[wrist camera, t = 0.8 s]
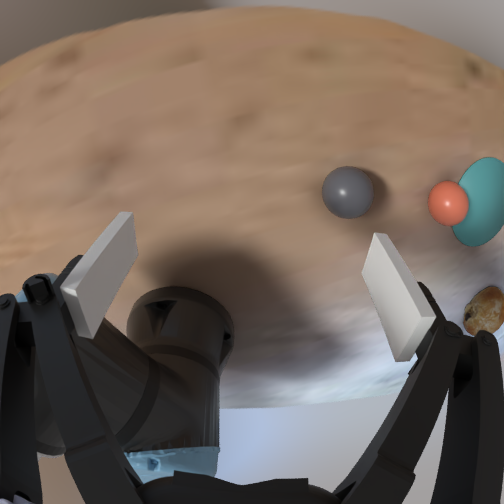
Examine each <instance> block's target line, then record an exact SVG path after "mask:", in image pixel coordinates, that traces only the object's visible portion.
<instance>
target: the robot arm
mask: <svg viewBox="0 0 504 504" xmlns="http://www.w3.org/2000/svg"><path fill="white" fill-rule="evenodd" d="M137 256H138V250H137V243H136V235H135V226H134V217H133V212H120V213H119V214H118V215H117V216H116V217H115V218H114V220H113V221H112V222H111V223H110V224H109V225H108V227H107V228H106V229H105V230H104V231H103V233H102V234H101V235H100V236H99V237H98V239H97V240H96V241H95V242H94V243H93V245H92V246H91V247H90V248H89V250H88V251H87V252H86V253H85V255H78V256H77V257H75V258H74V259H72V260H71V261H70V262H69V263H68V265H67V266H66V268H64V270H63V271H62V273H60V275H59V276H58V275H56V274H53V273H44V274H37V275H34V276H32V277H30V278H28V279H27V280H26V281H25V282H24V284H23V287H22V290H21V291H20V292H19V293H18V294H17V295H16V296H14V295H13V294H11V293H10V294H4V295H1V296H0V504H43V500H42V488H41V480H40V473H39V465H38V461H39V460H40V458H41V457H42V456H43V457H50V458H54V457H55V458H56V457H59V456H62V455H63V454H64V456H65V460H66V463H67V465H68V468H69V470H70V472H71V475H72V477H73V479H74V481H75V483H76V485H77V488H78V490H79V492H80V494H81V496H82V498H83V500H84V501H85V503H86V504H402V502H403V501H404V499H405V497H406V495H407V494H408V492H409V490H410V488H411V486H412V485H413V482H414V480H415V476H416V475H415V474H414V473H413V471H414V468H415V466H416V464H417V462H418V460H419V458H420V456H421V454H422V452H423V450H424V448H425V446H426V444H427V441H428V439H429V437H430V435H431V432H432V430H433V428H434V425H435V423H436V421H437V418H438V415H439V413H440V410H441V407H442V405H443V402H444V400H445V397H446V394H447V391H448V388H449V392H448V405H447V415H446V424H445V432H444V439H443V446H442V453H441V458H440V464H439V469H438V474H437V479H436V483H435V487H434V492H433V495H432V499H431V503H430V504H500V499H501V491H502V482H503V472H504V390H503V378H502V369H501V361H500V354H499V347H498V342H497V340H496V338H495V337H494V335H493V334H492V333H490V332H488V331H486V330H479V331H478V332H477V334H476V335H475V337H471V336H467V335H463V332H462V330H461V328H460V327H459V326H458V325H456V324H455V323H453V322H451V321H447V320H446V318H445V317H444V315H443V313H442V311H441V310H440V308H439V306H438V304H437V303H436V301H435V299H434V297H432V294H431V292H430V291H429V289H428V288H427V287H426V286H425V285H424V284H423V283H422V282H416V280H415V278H414V277H413V275H412V273H411V272H410V270H409V268H408V267H407V265H406V264H405V262H404V260H403V259H402V257H401V256H400V254H399V252H398V251H397V249H396V248H395V246H394V245H393V243H392V242H391V240H390V239H389V237H388V236H387V234H383V233H374V235H373V239H372V242H371V245H370V249H369V252H368V255H367V258H366V261H365V265H364V268H363V271H362V275H363V278H364V280H365V283H366V285H367V288H368V290H369V292H370V295H371V297H372V300H373V302H374V305H375V308H376V310H377V313H378V315H379V318H380V321H381V323H382V326H383V328H384V331H385V334H386V337H387V339H388V342H389V345H390V348H391V351H392V354H393V356H394V359H395V362H404V361H410V360H411V358H412V357H413V355H414V353H415V352H416V355H417V357H418V360H417V361H416V362H415V364H414V365H413V367H412V368H411V370H410V371H409V373H408V374H409V376H408V378H407V380H406V382H405V384H404V386H403V388H402V390H401V392H400V394H399V396H398V398H397V399H396V401H395V403H394V405H393V406H392V408H391V410H390V412H389V414H388V415H387V417H386V419H385V420H384V422H383V424H382V425H381V427H380V429H379V430H378V432H377V434H376V435H375V436H374V438H373V440H372V441H371V443H370V444H369V446H368V447H367V449H366V450H365V452H364V453H363V455H362V456H361V458H360V459H359V461H358V462H357V463H356V465H355V466H354V468H353V469H352V470H351V472H350V473H349V474H348V476H347V477H346V478H345V479H344V481H343V482H342V483H341V484H340V485H339V486H338V487H337V488H336V490H334V492H333V493H330V492H329V491H327V490H325V489H323V488H320V487H317V486H314V485H309V484H308V478H298V479H273V480H268V481H263V482H259V483H253V484H248V485H237V484H234V483H230V482H227V481H224V480H221V479H218V478H215V477H214V476H215V474H216V472H217V462H218V453H219V452H220V447H219V383H220V375H221V373H222V371H223V369H224V367H225V365H226V363H227V360H228V358H229V356H230V354H231V352H232V349H233V344H234V327H233V323H232V320H231V317H230V316H229V314H228V312H227V311H226V310H225V309H224V307H223V306H222V305H221V304H219V303H218V302H217V301H216V300H214V299H213V298H211V297H209V296H208V295H206V294H204V293H201V292H199V291H196V290H192V289H188V288H182V287H164V288H159V289H155V290H152V291H150V292H148V293H146V294H144V295H143V296H141V297H140V298H139V299H138V300H137V301H136V303H135V304H134V306H133V308H132V310H131V312H130V315H129V318H128V321H127V337H126V336H125V335H124V334H123V333H121V332H120V331H119V330H118V329H117V328H116V327H114V326H113V325H112V324H111V323H110V322H109V321H108V320H107V319H106V318H104V316H105V314H106V312H107V310H108V308H109V306H110V305H111V303H112V301H113V299H114V297H115V295H116V293H117V292H118V290H119V288H120V286H121V284H122V283H123V281H124V279H125V277H126V275H127V274H128V272H129V270H130V268H131V267H132V265H133V263H134V261H135V260H136V258H137Z"/></svg>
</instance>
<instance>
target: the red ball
mask: <svg viewBox="0 0 504 504" xmlns="http://www.w3.org/2000/svg"><path fill="white" fill-rule="evenodd" d="M428 207H429V211H430V213H431V215H432V217H433V218H434V219H435V220H436V221H437V222H439V223H440V224H442V225H445V226H454V225H457V224H459V223H460V222H462V221H463V220H464V218H465V217H466V215H467V212H468V208H469V201H468V197H467V194H466V192H465V191H464V189H463V188H462V187H461V186H460V185H458V184H457V183H455V182H451V181H444V182H440V183H438V184H437V185H435V186H434V187H433V189H432V190H431V192H430V194H429V198H428Z"/></svg>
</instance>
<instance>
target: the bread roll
mask: <svg viewBox="0 0 504 504" xmlns="http://www.w3.org/2000/svg"><path fill="white" fill-rule="evenodd" d="M503 322H504V294H503V293H502V291H501V290H500V289H499V288H497V287H487V288H486V289H484V290H482V291H481V292H479V293H478V294H477V295H476V296H475V297H474V298H473V299H472V300H471V302H470V303H469V304H467V305H466V307H465V314H464V322H463V324H464V327H465V329H466V331H467V332H468V333H470V334H471V335H474V336H475V335H476V334H477V332H478V331H479V330H486V331H488V332H490V333H494V332H495V331H496V330H498V329H499V328H500V326H501V325H502V324H503Z"/></svg>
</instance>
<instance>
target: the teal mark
mask: <svg viewBox="0 0 504 504" xmlns="http://www.w3.org/2000/svg"><path fill="white" fill-rule="evenodd" d="M458 185H460V186H461V187H462V188H463V189H464V191H465V192H466V194H467V197H468V201H469V208H468V212H467V215H466V217H465V218H464V220H463V221H462V222H460V223H459V224H457V225H454V226H452V228H453V231H454V233H455V235H456V237H457V238H458V239H459V240H460V241H461V242H462V243H463V244H465V245H467V246H480V245H482V244H484V243H486V242H488V241H489V240H491V239H492V238H493V237H494V236H495V235H496V234H497V233H498V232H499V231H500V229H501V228H502V226H503V225H504V163H502V162H501V161H500V160H498V159H496V158H491V157H487V158H483V159H480V160H478V161H476V162H475V163H474V164H472V165H471V166H470V167H469V168H468V169H467V171H466V172H465V173H464V175H463V176H462V178H461V179H460V181H459V183H458Z"/></svg>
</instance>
